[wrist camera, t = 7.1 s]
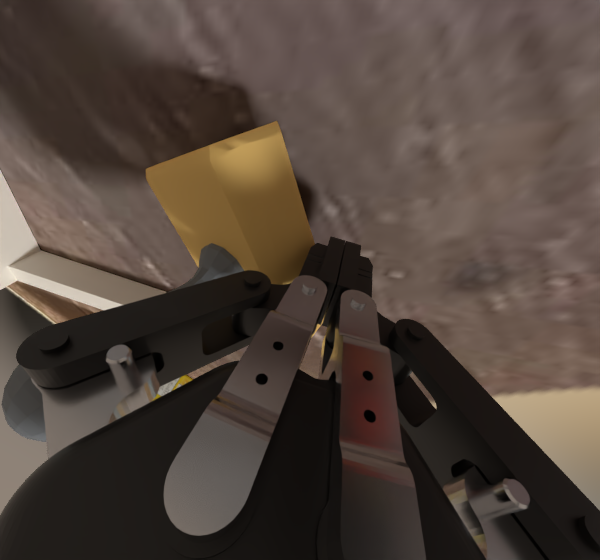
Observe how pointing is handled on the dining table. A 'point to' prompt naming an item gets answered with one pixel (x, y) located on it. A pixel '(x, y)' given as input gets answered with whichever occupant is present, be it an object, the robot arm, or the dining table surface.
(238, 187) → the rubber stamp
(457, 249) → the dining table surface
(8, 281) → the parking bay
